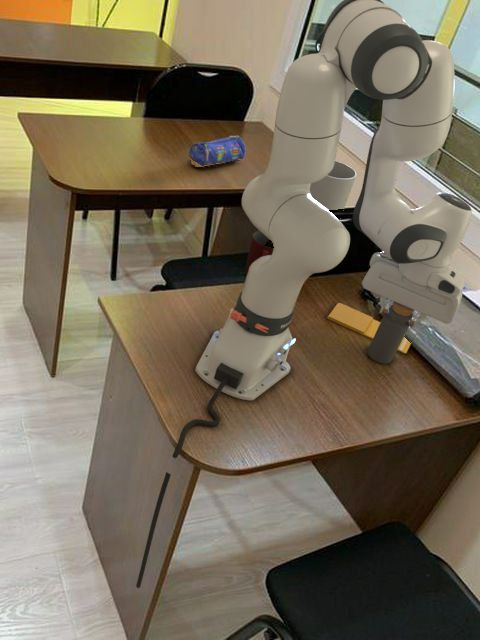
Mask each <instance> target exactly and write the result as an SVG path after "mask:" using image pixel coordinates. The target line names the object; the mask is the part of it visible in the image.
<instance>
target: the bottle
mask: <svg viewBox="0 0 480 640" xmlns="http://www.w3.org/2000/svg"><path fill="white" fill-rule="evenodd" d="M389 306H390V307H389V309H388V312H387V314H386V315H383V317H382V318H381V320H380V322H381V323H380V325H379V327H378V329H377V331H376V333H375V335H374V337H373V339H371V342H370V343H369V345H368V348H367V351H366V352H367V355H368V356H369V358H370V359H372V360H373V361H375V362H376V363H380V364H390V363H391V362H392V361H393V359H394V357H395V355H396V353H397V352H398V351H397V349H398V348H399V346H400V344H401V342H402V340H403V338H404V336H405V334H407V332H408V330H409V328H410V326H408V324H409V322H410V320H411V319H412V317H414V312H415V310H413V309H411V308H408V307H406V306H404V305H401V304H399V303H397V302H394V301H393V303H392V304H391V305H389Z"/></svg>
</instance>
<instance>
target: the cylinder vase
mask: <svg viewBox="0 0 480 640" xmlns="http://www.w3.org/2000/svg"><path fill="white" fill-rule="evenodd" d="M357 173H358V172H357V171H356V170H355V169H354V168H352V166H350V165H348V164H346V163H344V162H341V161H339V160H335V164H334V167H333V169H332V170H331V172H330V173H329V174H328V175H327V176H325V177H324V178H323V179H321V180H319V181H317V182H314V183H311V185H310V193H311V196H312V197H313V198H314V199H315V200H316V201H317V202H319V203H320V204H321V205H323V206H324V207H325V208H326V209H328V210H338V209H344V210H345V208H346V205H347V202H348V199H349V197H350V194H351V192H352V188H353V187H354V184H355V181H356V179H357V178H356V177H357V176H358V175H357Z"/></svg>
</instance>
